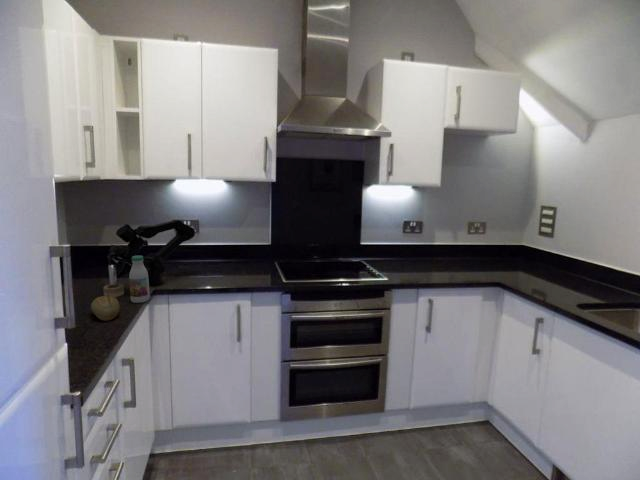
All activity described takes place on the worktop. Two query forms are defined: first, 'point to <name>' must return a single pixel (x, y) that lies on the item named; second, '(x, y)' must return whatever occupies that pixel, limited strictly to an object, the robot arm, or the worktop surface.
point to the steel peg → (112, 276)
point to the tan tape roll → (114, 290)
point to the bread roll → (105, 307)
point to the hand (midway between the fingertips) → (111, 275)
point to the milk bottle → (139, 281)
